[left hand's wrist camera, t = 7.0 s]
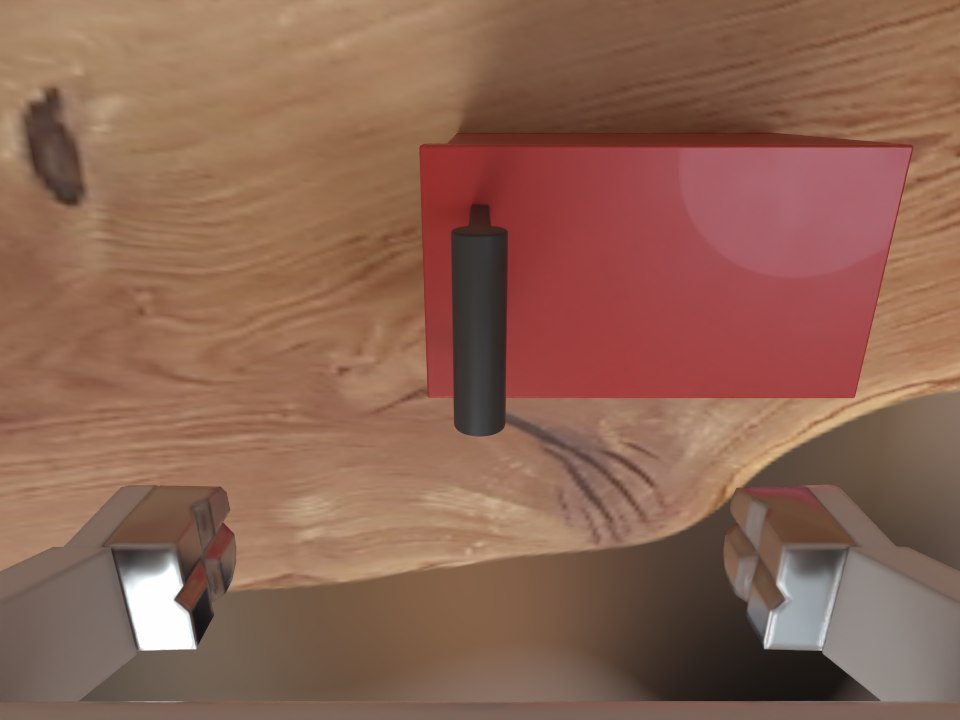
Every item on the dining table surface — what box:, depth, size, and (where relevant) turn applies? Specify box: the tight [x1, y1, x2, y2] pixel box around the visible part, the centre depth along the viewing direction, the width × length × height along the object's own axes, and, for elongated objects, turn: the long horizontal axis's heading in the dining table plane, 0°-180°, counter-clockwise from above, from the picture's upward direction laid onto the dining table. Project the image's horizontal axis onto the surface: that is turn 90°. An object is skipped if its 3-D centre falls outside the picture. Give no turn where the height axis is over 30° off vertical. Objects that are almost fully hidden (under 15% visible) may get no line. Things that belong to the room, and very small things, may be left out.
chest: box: [448, 133, 883, 144], centre depth 31 cm, size 17×10×10 cm, turn 90°
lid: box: [420, 143, 913, 436], centre depth 22 cm, size 18×10×8 cm, turn 90°
